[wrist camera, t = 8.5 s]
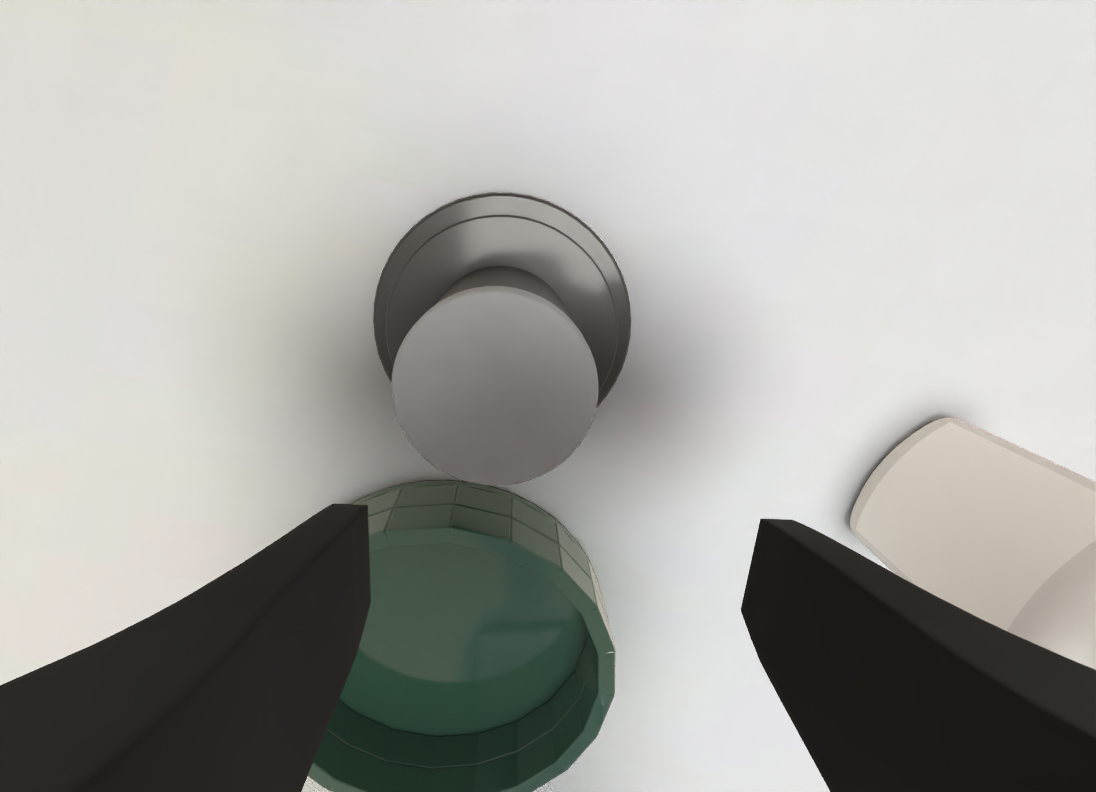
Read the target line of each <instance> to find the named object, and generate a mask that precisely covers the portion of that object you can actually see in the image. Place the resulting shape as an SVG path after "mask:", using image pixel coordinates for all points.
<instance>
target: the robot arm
mask: <svg viewBox="0 0 1096 792" xmlns="http://www.w3.org/2000/svg"><path fill="white" fill-rule="evenodd" d="M370 604H371V588H370V557H369V525H368V505H350V504H332V505H330V506H328V507H326V508H325V509H323V510H322V511H320V512H318V513H317V514H315V515H314V516H312V517H311V518H309V519H308V520H306V521H305V522H303V523H302V524H300V525H299V526H297V527H296V528H295V529H293V530H292V531H290V532H289V533H287V534H286V535H284V536H283V537H281V538H280V539H278V540H277V541H275V542H274V543H272V544H271V545H269V546H268V547H266V548H265V549H263V550H261V551H260V552H258V553H257V554H255V555H254V556H252V557H251V558H249V559H248V560H246V561H245V562H243V563H241V564H240V565H238V566H236V567H235V568H233V569H232V570H230V571H228V572H227V573H225V574H223V575H222V576H220V577H218V578H217V579H215V580H213V581H212V582H210V583H208V584H207V585H205V586H203V587H202V588H200V589H198V590H197V591H195V592H193V593H192V594H190V595H188V596H187V597H185V598H183V599H181V600H180V601H178V602H176V603H174V604H172V605H171V606H169V607H167V608H165V609H163V610H161V611H159V612H158V613H156V614H154V615H152V616H150V617H148V618H146V619H144V620H142V621H140V622H138V623H136V624H134V625H132V626H130V627H128V628H126V629H124V630H122V631H120V632H118V633H116V634H114V635H112V636H110V637H108V638H106V639H104V640H102V641H100V642H98V643H96V644H94V645H92V646H89V647H87V648H85V649H83V650H80V651H78V652H76V653H74V654H71V655H69V656H67V657H64V658H62V659H60V660H58V661H55V662H53V663H51V664H48V665H46V666H44V667H42V668H39V669H37V670H35V671H32V672H30V673H28V674H26V675H23V676H21V677H19V678H16V679H14V680H12V681H10V682H7V683H5V684H3V685H0V792H301V791H302V788H303V786H304V783H305V781H306V778H307V776H308V774H309V771H310V769H311V766H312V764H313V761H314V759H315V756H316V754H317V752H318V749H319V747H320V744H321V742H322V739H323V737H324V735H325V732H326V730H327V727H328V725H329V722H330V720H331V718H332V715H333V713H334V710H335V708H336V705H337V703H338V700H339V698H340V696H341V693H342V691H343V688H344V686H345V683H346V681H347V678H348V676H349V673H350V671H351V668H352V666H353V663H354V661H355V658H356V655H357V652H358V648H359V645H360V641H361V638H362V634H363V631H364V627H365V623H366V619H367V615H368V611H369V608H370ZM741 612H742V615H743V617H744V620H745V623H746V626H747V628H748V631H749V634H750V637H751V639H752V642H753V644H754V647H755V649H756V652H757V654H758V657H759V659H760V662H761V664H762V666H763V668H764V669H765V671H766V673H767V675H768V677H769V679H770V681H771V683H772V685H773V687H774V688H775V690H776V692H777V694H778V696H779V698H780V700H781V702H782V703H783V705H784V707H785V709H786V711H787V713H788V714H789V716H790V718H791V720H792V722H793V724H794V725H795V727H796V729H797V731H798V733H799V735H800V736H801V738H802V740H803V742H804V744H805V746H806V747H807V749H808V751H809V753H810V755H811V757H812V759H813V760H814V762H815V764H816V766H817V768H818V770H819V771H820V773H821V775H822V777H823V779H824V781H825V782H826V784H827V786H828V788H829V790H830V792H1096V670H1095V669H1093V668H1090V667H1088V666H1085V665H1083V664H1080V663H1078V662H1076V661H1073V660H1071V659H1068V658H1066V657H1064V656H1062V655H1059V654H1057V653H1055V652H1053V651H1050V650H1048V649H1046V648H1043V647H1041V646H1039V645H1037V644H1034V643H1032V642H1030V641H1028V640H1025V639H1023V638H1021V637H1019V636H1016V635H1014V634H1012V633H1010V632H1008V631H1005V630H1003V629H1001V628H999V627H997V626H995V625H993V624H991V623H989V622H986V621H984V620H982V619H980V618H978V617H976V616H974V615H972V614H970V613H968V612H966V611H965V610H963V609H961V608H959V607H957V606H955V605H953V604H951V603H949V602H947V601H945V600H943V599H941V598H939V597H937V596H935V595H933V594H931V593H929V592H928V591H926V590H924V589H922V588H920V587H918V586H916V585H914V584H912V583H911V582H909V581H907V580H905V579H903V578H901V577H900V576H898V575H896V574H894V573H892V572H891V571H889V570H887V569H885V568H883V567H882V566H880V565H878V564H876V563H874V562H873V561H871V560H869V559H867V558H865V557H864V556H862V555H860V554H858V553H856V552H855V551H853V550H851V549H849V548H847V547H846V546H844V545H842V544H840V543H838V542H836V541H835V540H833V539H831V538H829V537H827V536H825V535H823V534H821V533H820V532H818V531H816V530H814V529H812V528H810V527H807V526H805V525H803V524H801V523H798V522H796V521H794V520H780V519H761V520H760V524H759V529H758V533H757V538H756V543H755V547H754V552H753V556H752V561H751V566H750V570H749V575H748V579H747V584H746V589H745V593H744V598H743V602H742V607H741Z"/></svg>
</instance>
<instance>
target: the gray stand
mask: <svg viewBox="0 0 1096 792" xmlns="http://www.w3.org/2000/svg"><path fill="white" fill-rule="evenodd" d="M492 266H509V267H515V268H519V269H523V270H525V271H528V272H530V273H532V274H534V275H536V276H537V277H539V278H541V279H542V280H543V281H545V282H546V283H547V284H548V285H549V286H550V287H551V288H552V289H553V290H554V291H555V292H556V294H557V295H558V296H559V298H560V300H561V301H562V303H563V305H564V307H565V309H566V311H567V312H568V314H569V316H570V318H571V320H572V321H573V322H574V324H575V325H576V326H577V328H578V329H579V330H580V332H581V334H582V335H583V337H584V339H585V341H586V343H587V344H588V346H589V348H590V351H591V353H592V356H593V358H594V361H595V365H596V370H597V375H598V401H597V406H596V408H597V407H598V406H599V404H600V403H601V402H602V401H603V400H604V398H605V397H606V396H607V395H608V393H609V391H610V390H611V388H612V387H613V385H614V384H615V382H616V380H617V378H618V376H619V374H620V372H621V369H622V367H623V364H624V361H625V358H626V355H627V351H628V346H629V340H630V331H631V313H630V302H629V298H628V293H627V288H626V285H625V282H624V279H623V277H622V274H621V271H620V269H619V267H618V265H617V263H616V261H615V259H614V257H613V256H612V254H611V253H610V251H609V250H608V248H607V247H606V246H605V244H604V243H603V241H602V240H601V239H600V238H599V237H598V236H597V235H596V234H595V233H594V232H593V230H592V229H590V228H589V227H588V226H587V225H586V224H585V223H583V222H582V221H581V220H580V219H579V218H577V217H576V216H574V215H572V214H571V213H569V212H568V211H566V210H565V209H563V208H561V207H559V206H556V205H554V204H552V203H550V202H548V201H545V200H542V199H538V198H535V197H532V196H527V195H521V194H514V193H487V194H479V195H473V196H470V197H466V198H462V199H459V200H456V201H454V202H451V203H449V204H447V205H444V206H442V207H440V208H438V209H437V210H435V211H434V212H432V213H430V214H429V215H427V216H425V217H424V218H423V219H422V220H421V221H419V222H418V223H417V224H416V225H415V226H413V227H412V228H411V229H410V230H409V231H408V233H407V234H406V235H405V236H404V237H403V238H402V239H401V240H400V242H399V243H398V244H397V246H396V247H395V249H394V250H393V252H392V253H391V255H390V257H389V259H388V261H387V263H386V265H385V267H384V269H383V271H382V274H381V277H380V280H379V283H378V286H377V290H376V296H375V301H374V316H373V323H374V334H375V341H376V345H377V350H378V354H379V357H380V359H381V362H382V365H383V367H384V370H385V372H386V374H387V376H388V378H389V380H390V381H391V383H392V373H393V368H394V363H395V359H396V356H397V353H398V351H399V348H400V346H401V344H402V342H403V340H404V338H405V337H406V335H407V334H408V332H409V331H410V330H411V328H412V327H413V326H414V324H415V323H416V322H417V321H418V320H419V319H420V318H421V317H422V316H423V315H424V314H425V313H426V312H427V311H428V310H429V309H431V308H432V307H433V306H434V305H435V304H436V303H437V302H438V301H439V300H440V299H441V298H442V296H443V295H444V294H445V293H446V292H447V291H448V290H449V289H450V288H451V286H452V285H453V284H454V283H456V282H457V281H458V280H459V279H461V278H462V277H464V276H466V275H467V274H469V273H471V272H473V271H476V270H478V269H482V268H486V267H492Z"/></svg>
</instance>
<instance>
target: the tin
mask: <svg viewBox="0 0 1096 792" xmlns="http://www.w3.org/2000/svg"><path fill="white" fill-rule="evenodd" d="M351 505H368V525H369V557H370V588H371V604H370V608H369V611H368V615H367V619H366V623H365V627H364V631H363V634H362V638H361V641H360V645H359V648H358V652H357V655H356V658H355V661H354V663H353V666H352V668H351V671H350V673H349V676H348V678H347V681H346V683H345V686H344V688H343V691H342V693H341V696H340V698H339V700H338V703H337V705H336V708H335V710H334V713H333V715H332V718H331V720H330V722H329V725H328V727H327V730H326V732H325V735H324V737H323V739H322V742H321V744H320V747H319V749H318V752H317V754H316V756H315V759H314V761H313V764H312V766H311V769H310V771H309V774H308V776H309V777H310V778H311V779H313V780H314V781H315V782H317V783H318V784H319V785H321V786H322V787H323V788H326V789H327V790H329V791H332V792H533V791H534V790H536V789H537V788H539V787H541V786H542V785H544V784H545V783H547V782H549V781H550V780H552V779H554V778H555V777H557V776H558V775H560V774H562V773H563V772H565V771H566V770H567V769H568V768H569V767H570V766H571V765H572V764H573V763H574V762H575V761H576V760H577V758H578V757H579V756H580V755H581V754H582V753H583V752H584V751H585V749H586V748H587V747H588V746H589V745H590V744H591V743H592V742H593V741H594V739H595V738H596V737H597V735H598V733H599V731H600V728H601V726H602V724H603V721H604V719H605V716H606V714H607V712H608V709H609V707H610V704H611V702H612V700H613V697H614V693H615V648H614V643H613V639H612V635H611V630H610V626H609V622H608V617H607V613H606V609H605V604H604V600H603V596H602V593H601V591H600V588H599V586H598V583H597V579H596V576H595V573H594V571H593V568H592V566H591V564H590V562H589V559H588V557H587V556H586V554H585V553H584V551H583V550H582V548H581V547H580V545H579V543H578V542H577V541H576V540H575V539H574V538H573V536H572V535H571V534H570V533H569V532H568V531H567V529H566V528H565V527H563V526H562V525H561V524H560V523H559V522H558V521H557V520H555V519H554V518H553V517H552V516H551V515H549V514H548V513H546V512H545V511H543V510H542V509H540V508H539V507H537V506H536V505H534V504H533V503H531V502H528V501H526V500H524V499H522V498H520V497H518V496H516V495H514V494H511V493H509V492H506V491H503V490H500V489H497V488H494V487H490V486H485V485H481V484H476V483H471V482H461V481H451V480H446V481H422V482H415V483H408V484H403V485H399V486H395V487H391V488H387V489H384V490H381V491H379V492H376V493H373V494H371V495H368V496H366V497H363V498H362V499H360V500H358V501H356V502H354V503H353V504H351Z"/></svg>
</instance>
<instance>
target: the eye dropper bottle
mask: <svg viewBox="0 0 1096 792" xmlns="http://www.w3.org/2000/svg"><path fill="white" fill-rule="evenodd" d="M850 528H851V531H852V532H853V534H854V535H855V536H856V537H857V539H858V540H859V541H860V542H861V543H862V544H863V545H865V546H866V547H867V548H868V549H869V550H870V551H871V552H872V553H873V554H874V555H875V556H876V557H877V558H878V559H879V560H880V561H881V562H882V563H884V564H885V565H886V566H887V567H888V568H889V569H890V570H891V571H892V572H893V573H894V574H896V575H898V576H900V577H901V578H903V579H905V580H907V581H909V582H911V583H912V584H914V585H916V586H918V587H920V588H922V589H924V590H926V591H928V592H929V593H931V594H933V595H935V596H937V597H939V598H941V599H943V600H945V601H947V602H949V603H951V604H953V605H955V606H957V607H959V608H961V609H963V610H965V611H966V612H968V613H970V614H972V615H974V616H976V617H978V618H980V619H982V620H984V621H986V622H989V623H991V624H993V625H995V626H997V627H999V628H1001V629H1003V630H1005V631H1008V632H1010V633H1012V634H1014V635H1016V636H1019V637H1021V638H1023V639H1025V640H1028V641H1030V642H1032V643H1034V644H1037V645H1039V646H1041V647H1043V648H1046V649H1048V650H1050V651H1053V652H1055V653H1057V654H1059V655H1062V656H1064V657H1066V658H1068V659H1071V660H1073V661H1076V662H1078V663H1080V664H1083V665H1085V666H1088V667H1090V668H1093V669H1095V670H1096V482H1094V481H1092V480H1090V479H1088V478H1086V477H1084V476H1081V475H1079V474H1077V473H1075V472H1073V471H1071V470H1069V469H1066V468H1064V467H1062V466H1060V465H1058V464H1056V463H1054V462H1051V461H1049V460H1047V459H1045V458H1043V457H1041V456H1038V455H1036V454H1034V453H1032V452H1030V451H1028V450H1025V449H1023V448H1021V447H1019V446H1017V445H1015V444H1012V443H1010V442H1008V441H1006V440H1004V439H1002V438H999V437H997V436H995V435H993V434H991V433H989V432H986V431H984V430H982V429H980V428H978V427H976V426H973V425H971V424H969V423H967V422H965V421H962V420H959V419H955V418H950V417H949V418H942V419H938V420H935V421H933V422H931V423H929V424H927V425H926V426H924V427H922V428H921V429H919V430H918V431H916V432H915V433H913V434H912V435H910V436H909V437H908V438H907V439H905V440H904V441H903V442H902V443H900V444H899V445H898V446H897V447H896V448H895V449H894V450H892V451H891V452H890V453H889V454H888V455H887V456H886V457H885V458H884V460H883V461H882V462H881V463H880V464H879V465H878V467H877V468H876V469H875V470H874V472H873V473H872V474H871V476H870V477H869V479H868V480H867V482H866V483H865V485H864V487H863V488H862V490H861V492H860V494H859V496H858V498H857V500H856V502H855V505H854V507H853V510H852V513H851V517H850Z"/></svg>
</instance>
